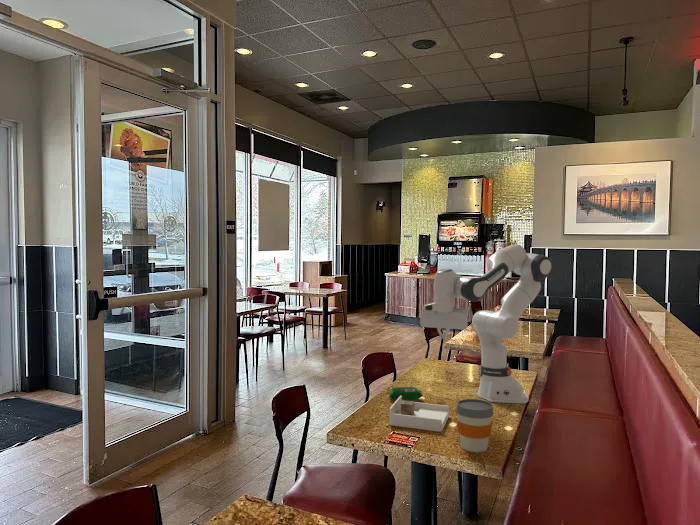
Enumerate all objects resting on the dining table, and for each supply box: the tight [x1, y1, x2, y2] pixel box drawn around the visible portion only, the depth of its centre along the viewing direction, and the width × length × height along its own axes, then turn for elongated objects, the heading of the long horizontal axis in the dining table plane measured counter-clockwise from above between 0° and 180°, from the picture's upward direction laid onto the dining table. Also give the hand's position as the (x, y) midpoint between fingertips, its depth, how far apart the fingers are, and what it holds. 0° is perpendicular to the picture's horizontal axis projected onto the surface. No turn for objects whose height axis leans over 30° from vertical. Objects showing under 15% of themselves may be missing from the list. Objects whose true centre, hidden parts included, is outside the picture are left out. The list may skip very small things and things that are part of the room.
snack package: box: [388, 386, 424, 402], centre depth 230 cm, size 7×16×5 cm, turn 92°
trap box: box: [388, 396, 450, 433], centre depth 203 cm, size 20×17×6 cm
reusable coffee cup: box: [455, 398, 494, 453], centre depth 178 cm, size 13×13×15 cm
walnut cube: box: [401, 400, 415, 416], centre depth 204 cm, size 4×4×4 cm
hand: (443, 338), depth 222 cm, fingers closed
